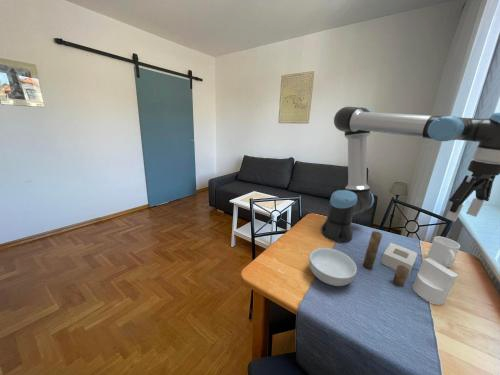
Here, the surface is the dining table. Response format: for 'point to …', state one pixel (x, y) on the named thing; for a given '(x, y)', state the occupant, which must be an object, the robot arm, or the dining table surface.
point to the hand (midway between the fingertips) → (461, 217)
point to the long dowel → (372, 250)
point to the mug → (443, 251)
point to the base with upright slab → (434, 281)
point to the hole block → (398, 257)
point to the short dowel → (400, 276)
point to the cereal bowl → (332, 266)
